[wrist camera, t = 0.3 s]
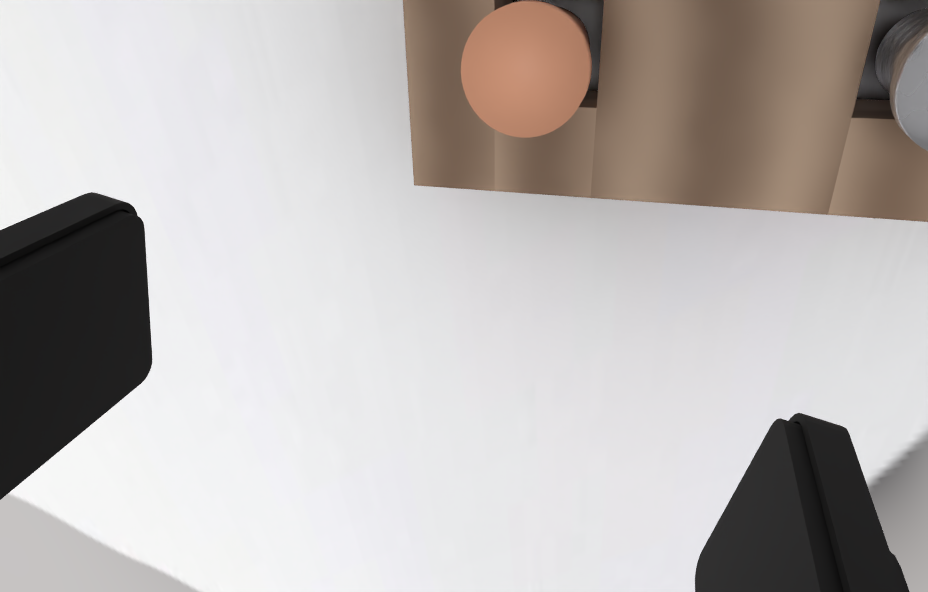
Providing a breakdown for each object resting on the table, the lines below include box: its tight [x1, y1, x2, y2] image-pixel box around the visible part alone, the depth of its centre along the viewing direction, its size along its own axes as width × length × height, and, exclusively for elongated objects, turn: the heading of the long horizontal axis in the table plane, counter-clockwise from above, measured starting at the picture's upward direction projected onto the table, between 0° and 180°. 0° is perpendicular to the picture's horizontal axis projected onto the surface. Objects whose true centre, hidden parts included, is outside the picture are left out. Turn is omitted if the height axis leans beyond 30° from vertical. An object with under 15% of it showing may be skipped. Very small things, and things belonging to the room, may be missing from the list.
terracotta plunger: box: [461, 0, 592, 138], centre depth 30 cm, size 5×5×6 cm
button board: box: [403, 0, 928, 222], centre depth 31 cm, size 30×14×4 cm, turn 91°
